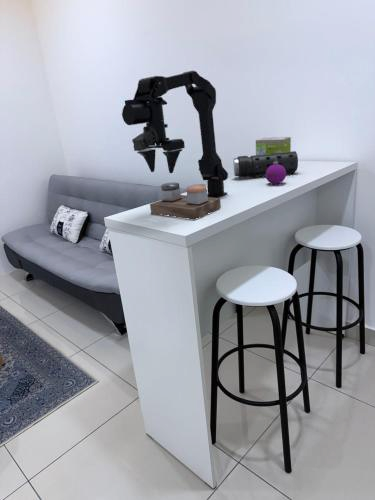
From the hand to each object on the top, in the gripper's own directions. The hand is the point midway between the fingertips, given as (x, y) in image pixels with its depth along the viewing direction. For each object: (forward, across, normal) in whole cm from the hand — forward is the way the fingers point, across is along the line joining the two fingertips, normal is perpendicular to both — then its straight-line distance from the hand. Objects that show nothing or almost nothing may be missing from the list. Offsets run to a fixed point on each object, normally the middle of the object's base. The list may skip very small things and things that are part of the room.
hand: (161, 172), depth 115 cm
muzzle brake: (+15, -4, +66) cm, 68 cm away
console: (+14, +3, +6) cm, 16 cm away
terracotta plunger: (+11, +9, +7) cm, 15 cm away
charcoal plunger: (+11, -3, +6) cm, 12 cm away
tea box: (+15, -13, +86) cm, 88 cm away
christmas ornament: (+15, +10, +53) cm, 56 cm away
